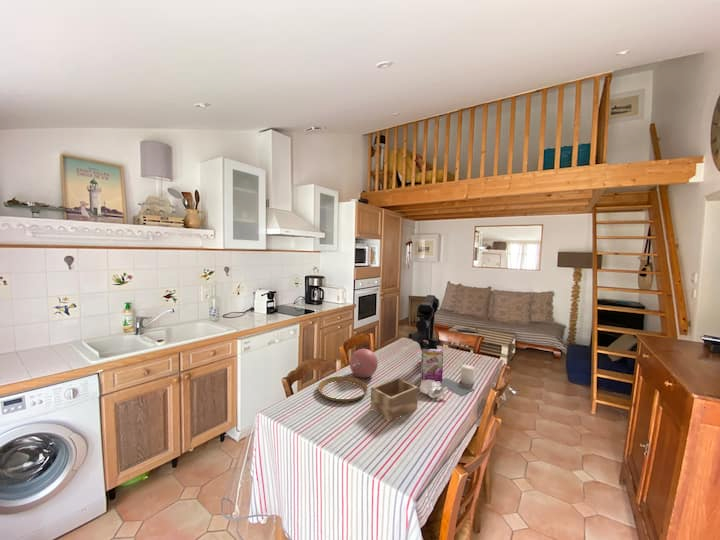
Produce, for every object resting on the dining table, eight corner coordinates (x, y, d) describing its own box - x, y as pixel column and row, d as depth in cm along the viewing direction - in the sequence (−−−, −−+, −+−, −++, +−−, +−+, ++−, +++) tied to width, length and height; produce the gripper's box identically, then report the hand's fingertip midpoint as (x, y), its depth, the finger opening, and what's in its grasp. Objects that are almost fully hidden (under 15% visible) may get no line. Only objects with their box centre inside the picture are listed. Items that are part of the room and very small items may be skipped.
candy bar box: (421, 380, 162) (422, 351, 160) (420, 376, 167) (421, 348, 165) (442, 381, 161) (443, 352, 159) (441, 377, 165) (441, 348, 164)
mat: (427, 385, 156) (427, 385, 156) (445, 378, 166) (445, 377, 166) (456, 399, 143) (456, 398, 143) (474, 389, 153) (474, 389, 153)
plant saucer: (374, 388, 152) (374, 382, 152) (354, 411, 130) (354, 403, 130) (333, 378, 162) (333, 372, 162) (307, 398, 140) (308, 391, 140)
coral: (415, 381, 147) (434, 374, 151) (415, 392, 149) (434, 385, 153) (429, 396, 137) (450, 388, 141) (429, 408, 139) (450, 400, 143)
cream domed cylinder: (457, 381, 163) (458, 366, 162) (464, 377, 167) (465, 363, 167) (469, 385, 158) (470, 371, 157) (476, 382, 162) (477, 367, 162)
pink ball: (338, 380, 159) (339, 352, 158) (359, 368, 176) (360, 343, 174) (363, 388, 150) (363, 359, 149) (382, 375, 167) (383, 348, 166)
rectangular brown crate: (370, 409, 131) (371, 387, 130) (397, 398, 142) (398, 377, 141) (390, 422, 122) (390, 398, 121) (417, 409, 133) (418, 387, 132)
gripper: (402, 324, 169) (401, 351, 170) (429, 332, 154) (427, 362, 155) (415, 322, 176) (414, 348, 177) (442, 329, 161) (440, 357, 162)
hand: (423, 353), depth 168 cm, fingers closed
